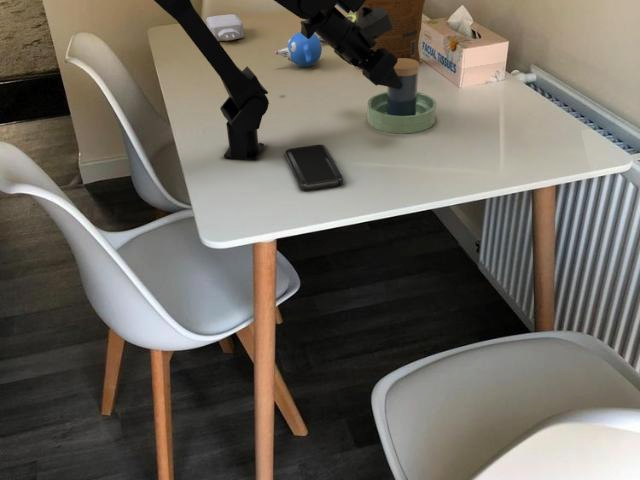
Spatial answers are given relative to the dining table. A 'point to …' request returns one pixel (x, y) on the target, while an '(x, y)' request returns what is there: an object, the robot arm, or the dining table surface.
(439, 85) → the dining table surface
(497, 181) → the dining table surface
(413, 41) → the pancake mix bag
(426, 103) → the bowl
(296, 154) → the phone
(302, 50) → the blue mole toy
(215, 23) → the charger
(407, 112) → the canister
